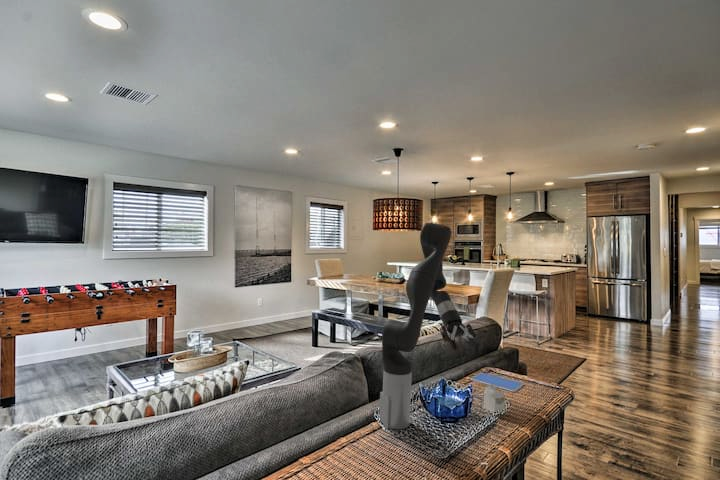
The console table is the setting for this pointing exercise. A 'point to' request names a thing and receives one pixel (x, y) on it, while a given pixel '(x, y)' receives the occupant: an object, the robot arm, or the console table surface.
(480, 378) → the tablet computer
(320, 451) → the console table surface
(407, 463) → the console table surface
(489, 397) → the cylinder
